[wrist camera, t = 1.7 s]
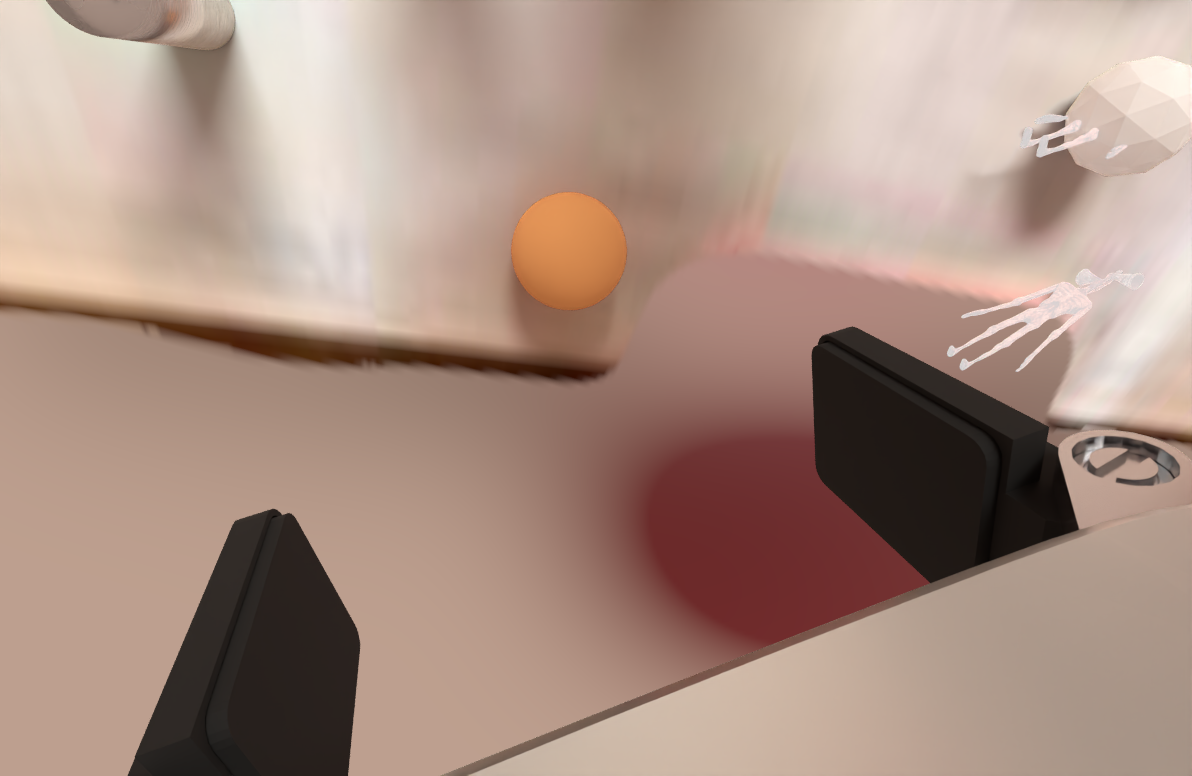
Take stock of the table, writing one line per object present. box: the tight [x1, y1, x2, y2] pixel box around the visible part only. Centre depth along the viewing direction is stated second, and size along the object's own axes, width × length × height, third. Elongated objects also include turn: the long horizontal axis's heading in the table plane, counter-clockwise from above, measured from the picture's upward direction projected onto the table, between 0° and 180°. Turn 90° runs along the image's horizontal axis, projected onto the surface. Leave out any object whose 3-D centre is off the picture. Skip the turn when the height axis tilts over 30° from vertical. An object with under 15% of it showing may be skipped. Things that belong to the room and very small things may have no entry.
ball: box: [511, 192, 627, 310], centre depth 29 cm, size 6×6×6 cm
